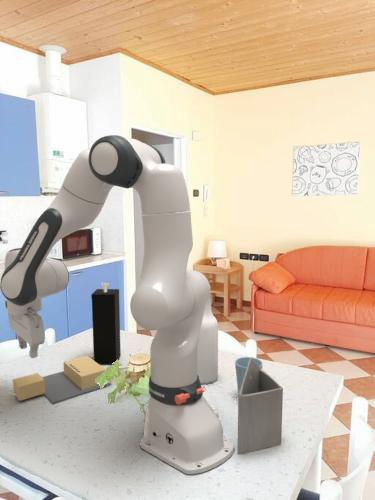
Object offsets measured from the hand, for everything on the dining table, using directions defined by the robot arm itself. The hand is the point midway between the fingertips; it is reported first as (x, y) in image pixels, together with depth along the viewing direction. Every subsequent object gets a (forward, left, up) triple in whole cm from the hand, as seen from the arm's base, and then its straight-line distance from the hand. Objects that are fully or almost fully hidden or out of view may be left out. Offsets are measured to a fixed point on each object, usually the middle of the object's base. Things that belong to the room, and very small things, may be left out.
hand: (28, 352), depth 112 cm
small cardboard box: (0, 0, -12) cm, 12 cm away
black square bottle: (+9, -29, -13) cm, 34 cm away
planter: (-56, -36, -13) cm, 68 cm away
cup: (-40, -48, -13) cm, 64 cm away
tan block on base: (0, -12, -13) cm, 18 cm away
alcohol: (-23, -46, -13) cm, 53 cm away
